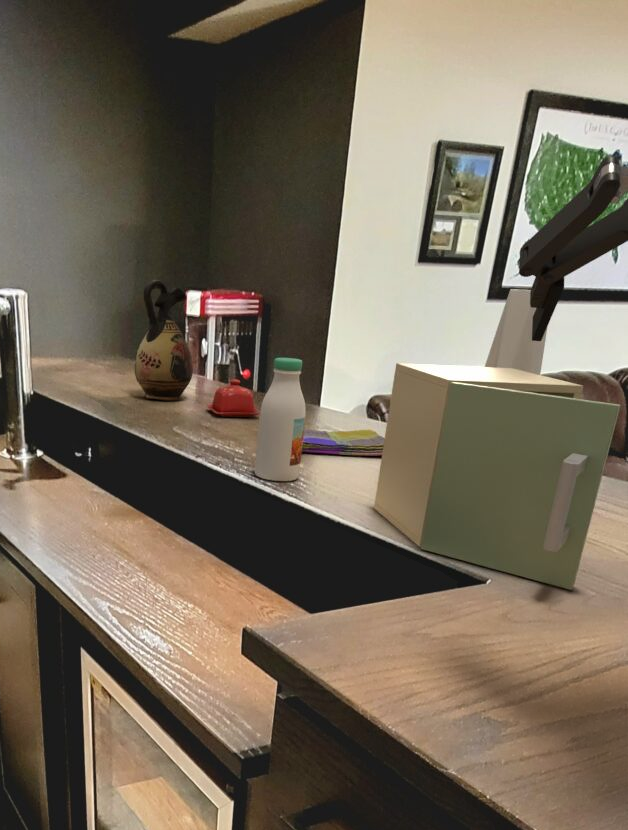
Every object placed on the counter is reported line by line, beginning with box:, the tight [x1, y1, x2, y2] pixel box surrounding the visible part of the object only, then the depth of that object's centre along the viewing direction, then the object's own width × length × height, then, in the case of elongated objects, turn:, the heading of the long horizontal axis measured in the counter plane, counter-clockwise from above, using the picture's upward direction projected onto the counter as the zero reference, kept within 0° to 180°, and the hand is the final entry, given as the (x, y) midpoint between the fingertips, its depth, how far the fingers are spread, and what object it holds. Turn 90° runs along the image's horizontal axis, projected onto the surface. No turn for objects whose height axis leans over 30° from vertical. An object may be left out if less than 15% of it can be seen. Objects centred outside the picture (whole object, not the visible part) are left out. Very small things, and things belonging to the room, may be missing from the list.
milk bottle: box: [253, 357, 307, 482], centre depth 122 cm, size 8×8×20 cm
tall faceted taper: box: [484, 288, 549, 375], centre depth 129 cm, size 12×12×33 cm
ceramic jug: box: [134, 279, 194, 401], centre depth 188 cm, size 17×15×30 cm
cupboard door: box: [420, 382, 621, 591], centre depth 84 cm, size 7×18×22 cm, turn 52°
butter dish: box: [205, 378, 260, 418], centre depth 175 cm, size 12×12×8 cm
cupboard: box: [373, 362, 584, 548], centre depth 101 cm, size 16×18×22 cm
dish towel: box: [302, 428, 385, 457], centre depth 149 cm, size 18×24×3 cm
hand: (621, 335), depth 63 cm, fingers open, 13 cm apart
